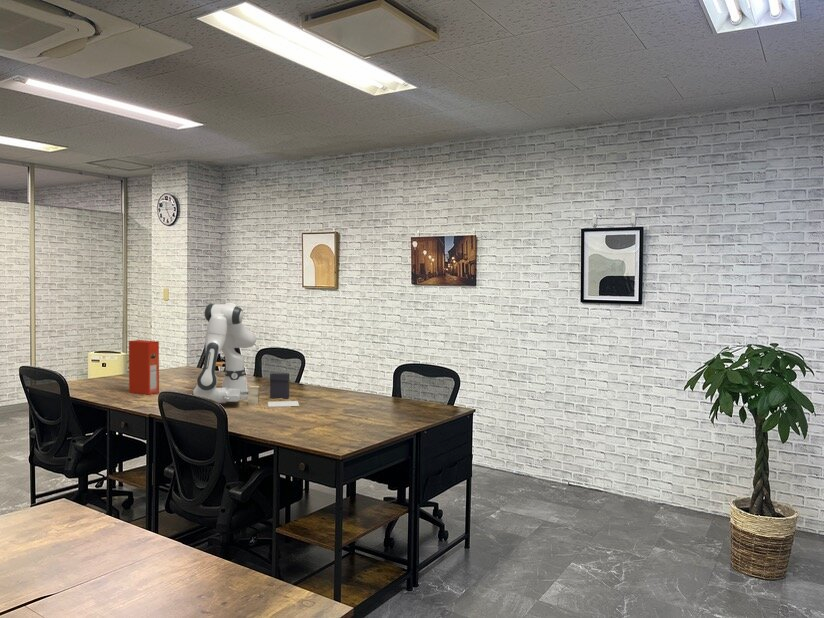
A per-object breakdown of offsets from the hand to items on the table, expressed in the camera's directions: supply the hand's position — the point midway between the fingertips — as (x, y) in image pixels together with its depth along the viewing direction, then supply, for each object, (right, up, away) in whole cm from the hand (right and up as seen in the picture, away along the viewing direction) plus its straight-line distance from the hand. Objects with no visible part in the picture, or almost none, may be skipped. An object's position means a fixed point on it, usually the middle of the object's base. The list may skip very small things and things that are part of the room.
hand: (248, 394), depth 362 cm
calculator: (+13, -5, +21) cm, 25 cm away
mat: (+19, -6, +2) cm, 20 cm away
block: (+3, -5, +1) cm, 6 cm away
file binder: (-72, -3, +29) cm, 78 cm away
